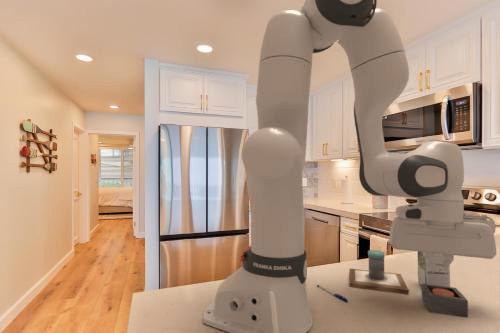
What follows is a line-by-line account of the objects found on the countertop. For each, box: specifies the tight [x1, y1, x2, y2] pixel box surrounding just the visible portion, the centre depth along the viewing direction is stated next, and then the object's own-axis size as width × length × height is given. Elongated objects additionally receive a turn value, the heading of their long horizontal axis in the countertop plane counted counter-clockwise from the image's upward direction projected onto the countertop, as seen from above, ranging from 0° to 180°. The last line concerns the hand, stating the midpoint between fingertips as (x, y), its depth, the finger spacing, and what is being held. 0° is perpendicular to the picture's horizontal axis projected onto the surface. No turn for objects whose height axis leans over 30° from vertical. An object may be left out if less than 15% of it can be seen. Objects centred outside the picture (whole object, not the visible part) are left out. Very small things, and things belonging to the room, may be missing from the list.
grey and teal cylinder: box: [367, 249, 386, 280], centre depth 78 cm, size 4×4×7 cm
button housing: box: [421, 284, 469, 318], centre depth 63 cm, size 7×7×4 cm
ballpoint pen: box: [316, 284, 349, 303], centre depth 70 cm, size 10×1×1 cm, turn 28°
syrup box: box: [417, 251, 451, 287], centre depth 73 cm, size 6×6×14 cm
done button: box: [432, 288, 454, 297], centre depth 63 cm, size 4×4×2 cm
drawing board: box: [349, 268, 410, 295], centre depth 78 cm, size 14×12×1 cm
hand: (438, 272), depth 63 cm, fingers closed
